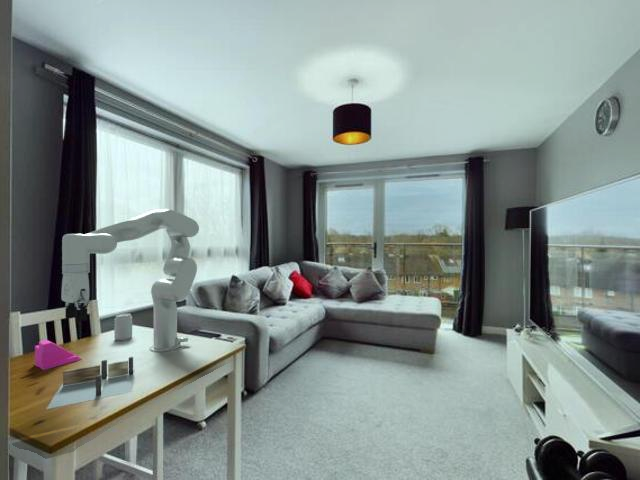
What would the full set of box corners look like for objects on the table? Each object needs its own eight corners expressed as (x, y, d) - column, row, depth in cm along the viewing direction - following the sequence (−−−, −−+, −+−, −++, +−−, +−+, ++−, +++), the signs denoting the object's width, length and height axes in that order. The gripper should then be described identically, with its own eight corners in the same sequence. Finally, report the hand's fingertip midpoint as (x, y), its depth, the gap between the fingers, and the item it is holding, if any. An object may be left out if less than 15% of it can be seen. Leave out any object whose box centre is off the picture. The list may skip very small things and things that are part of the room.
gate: (100, 378, 106) (100, 364, 106) (99, 379, 105) (99, 365, 105) (63, 384, 101) (63, 370, 101) (62, 386, 100) (62, 371, 100)
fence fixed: (133, 372, 111) (133, 355, 111) (130, 389, 99) (130, 369, 99) (101, 378, 106) (101, 360, 106) (95, 396, 94) (95, 376, 94)
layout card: (134, 371, 113) (134, 370, 113) (131, 393, 97) (131, 391, 97) (62, 384, 103) (62, 382, 103) (46, 411, 87) (46, 409, 87)
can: (110, 340, 148) (110, 316, 148) (122, 335, 155) (122, 312, 155) (123, 341, 146) (123, 316, 146) (135, 336, 154) (135, 313, 154)
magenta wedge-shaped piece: (43, 371, 113) (43, 344, 113) (34, 365, 119) (34, 339, 119) (81, 361, 123) (81, 336, 123) (72, 355, 129) (72, 331, 129)
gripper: (52, 268, 107) (52, 318, 107) (74, 271, 98) (74, 325, 98) (77, 266, 113) (77, 314, 113) (100, 269, 105) (100, 320, 105)
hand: (76, 319), depth 106 cm, fingers open, 7 cm apart
